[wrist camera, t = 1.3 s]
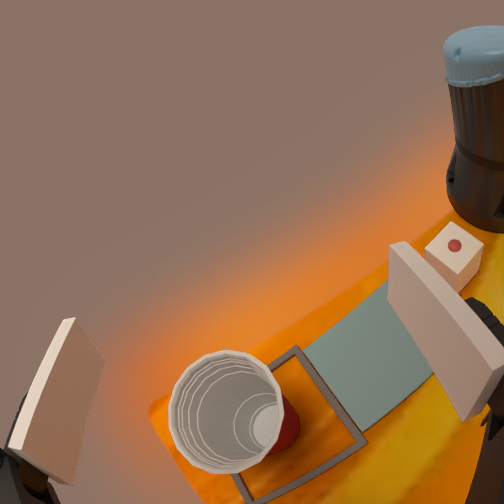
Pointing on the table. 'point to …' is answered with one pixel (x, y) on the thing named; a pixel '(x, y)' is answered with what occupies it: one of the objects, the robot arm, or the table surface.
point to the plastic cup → (230, 413)
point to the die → (454, 255)
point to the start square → (327, 465)
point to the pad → (370, 360)
